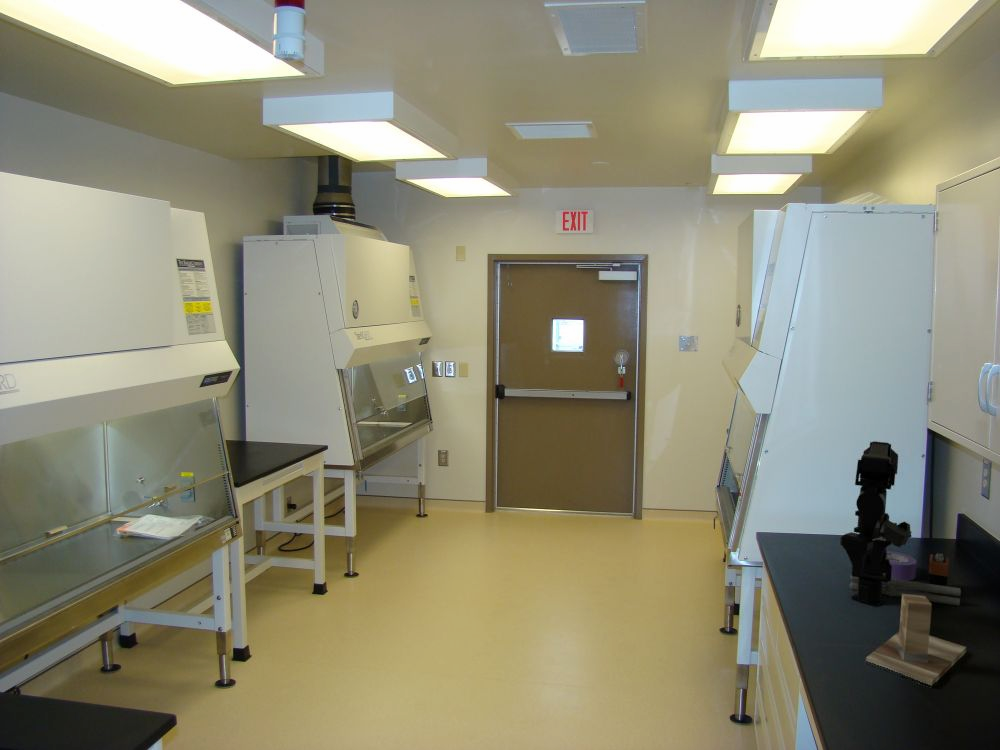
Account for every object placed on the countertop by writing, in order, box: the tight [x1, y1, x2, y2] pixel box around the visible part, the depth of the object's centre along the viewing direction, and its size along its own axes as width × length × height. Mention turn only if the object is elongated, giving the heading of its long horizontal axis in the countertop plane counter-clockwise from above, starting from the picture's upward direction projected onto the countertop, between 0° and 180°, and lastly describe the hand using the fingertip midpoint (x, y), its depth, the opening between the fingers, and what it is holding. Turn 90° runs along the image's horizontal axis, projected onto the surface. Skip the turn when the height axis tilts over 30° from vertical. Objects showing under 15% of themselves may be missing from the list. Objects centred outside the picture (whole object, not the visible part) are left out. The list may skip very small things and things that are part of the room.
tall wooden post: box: [897, 594, 933, 663], centre depth 163 cm, size 5×5×13 cm
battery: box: [927, 552, 950, 596], centre depth 203 cm, size 4×7×10 cm, turn 149°
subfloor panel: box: [865, 631, 967, 686], centre depth 166 cm, size 22×13×2 cm, turn 133°
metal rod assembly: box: [849, 574, 962, 607], centre depth 199 cm, size 26×3×5 cm, turn 67°
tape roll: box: [883, 550, 917, 581], centre depth 216 cm, size 12×12×5 cm
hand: (867, 571), depth 183 cm, fingers open, 9 cm apart
